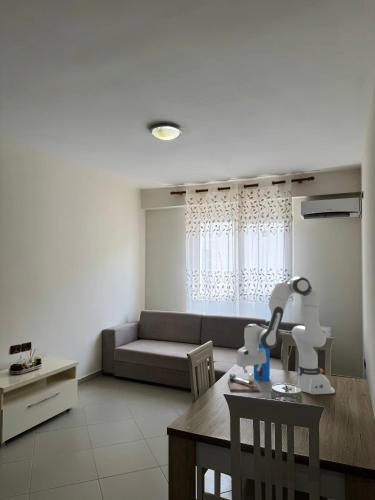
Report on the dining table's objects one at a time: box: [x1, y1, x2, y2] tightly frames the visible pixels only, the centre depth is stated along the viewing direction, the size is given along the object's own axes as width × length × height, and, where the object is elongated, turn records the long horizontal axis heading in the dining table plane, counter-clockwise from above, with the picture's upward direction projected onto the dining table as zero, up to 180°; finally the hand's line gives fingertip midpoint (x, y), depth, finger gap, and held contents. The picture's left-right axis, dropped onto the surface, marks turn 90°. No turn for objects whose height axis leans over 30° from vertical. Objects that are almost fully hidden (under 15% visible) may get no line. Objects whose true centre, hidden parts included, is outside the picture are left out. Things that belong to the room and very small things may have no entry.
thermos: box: [253, 344, 271, 382], centre depth 240 cm, size 11×11×25 cm
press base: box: [227, 378, 261, 393], centre depth 224 cm, size 18×19×2 cm
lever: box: [229, 373, 254, 385], centre depth 226 cm, size 18×4×7 cm, turn 43°
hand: (252, 371), depth 221 cm, fingers open, 8 cm apart
